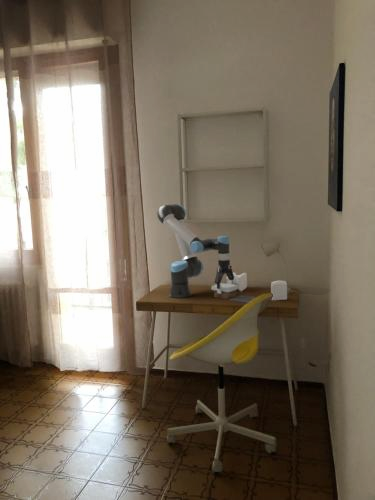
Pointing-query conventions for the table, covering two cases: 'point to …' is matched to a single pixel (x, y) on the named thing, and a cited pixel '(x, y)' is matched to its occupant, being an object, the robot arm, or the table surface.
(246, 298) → the rubber mat
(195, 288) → the table surface
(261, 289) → the table surface
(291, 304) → the table surface
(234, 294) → the walnut box
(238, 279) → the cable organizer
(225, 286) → the cover plate
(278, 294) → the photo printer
